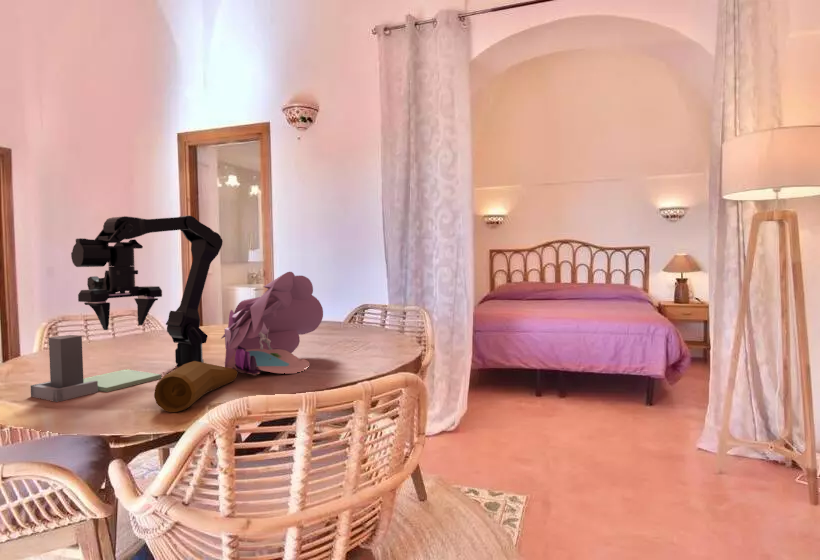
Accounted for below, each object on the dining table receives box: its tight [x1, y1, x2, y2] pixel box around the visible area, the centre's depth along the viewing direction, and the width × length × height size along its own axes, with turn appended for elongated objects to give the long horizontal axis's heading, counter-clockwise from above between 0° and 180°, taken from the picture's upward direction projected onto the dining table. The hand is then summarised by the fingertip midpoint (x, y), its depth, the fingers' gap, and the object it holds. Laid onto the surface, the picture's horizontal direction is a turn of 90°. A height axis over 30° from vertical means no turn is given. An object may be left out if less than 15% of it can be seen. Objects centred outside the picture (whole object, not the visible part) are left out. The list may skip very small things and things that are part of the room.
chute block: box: [48, 334, 84, 388], centre depth 111 cm, size 4×4×13 cm
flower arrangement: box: [220, 271, 324, 377], centre depth 134 cm, size 36×24×29 cm
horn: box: [153, 361, 238, 413], centre depth 108 cm, size 8×10×25 cm
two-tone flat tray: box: [30, 368, 162, 403], centre depth 117 cm, size 23×14×2 cm, turn 154°
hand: (123, 327), depth 125 cm, fingers open, 9 cm apart
